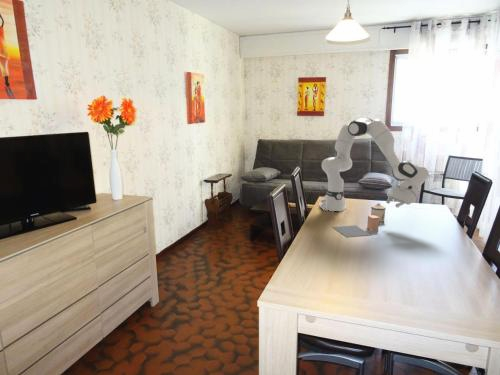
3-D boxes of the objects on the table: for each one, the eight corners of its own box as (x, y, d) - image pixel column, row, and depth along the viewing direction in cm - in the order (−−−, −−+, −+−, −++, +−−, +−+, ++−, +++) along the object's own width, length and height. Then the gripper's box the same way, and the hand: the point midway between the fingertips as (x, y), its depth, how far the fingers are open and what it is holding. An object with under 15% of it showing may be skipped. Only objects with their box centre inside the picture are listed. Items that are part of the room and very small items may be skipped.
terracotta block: (367, 228, 216) (368, 215, 215) (373, 227, 217) (374, 215, 216) (371, 230, 212) (372, 218, 210) (378, 230, 213) (379, 217, 211)
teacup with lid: (384, 222, 227) (386, 205, 224) (370, 221, 230) (371, 204, 227) (384, 217, 238) (385, 201, 235) (370, 216, 241) (371, 200, 238)
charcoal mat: (332, 227, 217) (332, 227, 217) (355, 225, 221) (355, 225, 221) (346, 237, 200) (346, 236, 200) (371, 235, 204) (371, 234, 204)
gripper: (393, 181, 223) (379, 197, 223) (415, 188, 204) (399, 205, 203) (399, 188, 225) (384, 203, 225) (421, 195, 205) (405, 212, 205)
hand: (391, 204), depth 214 cm, fingers open, 8 cm apart
